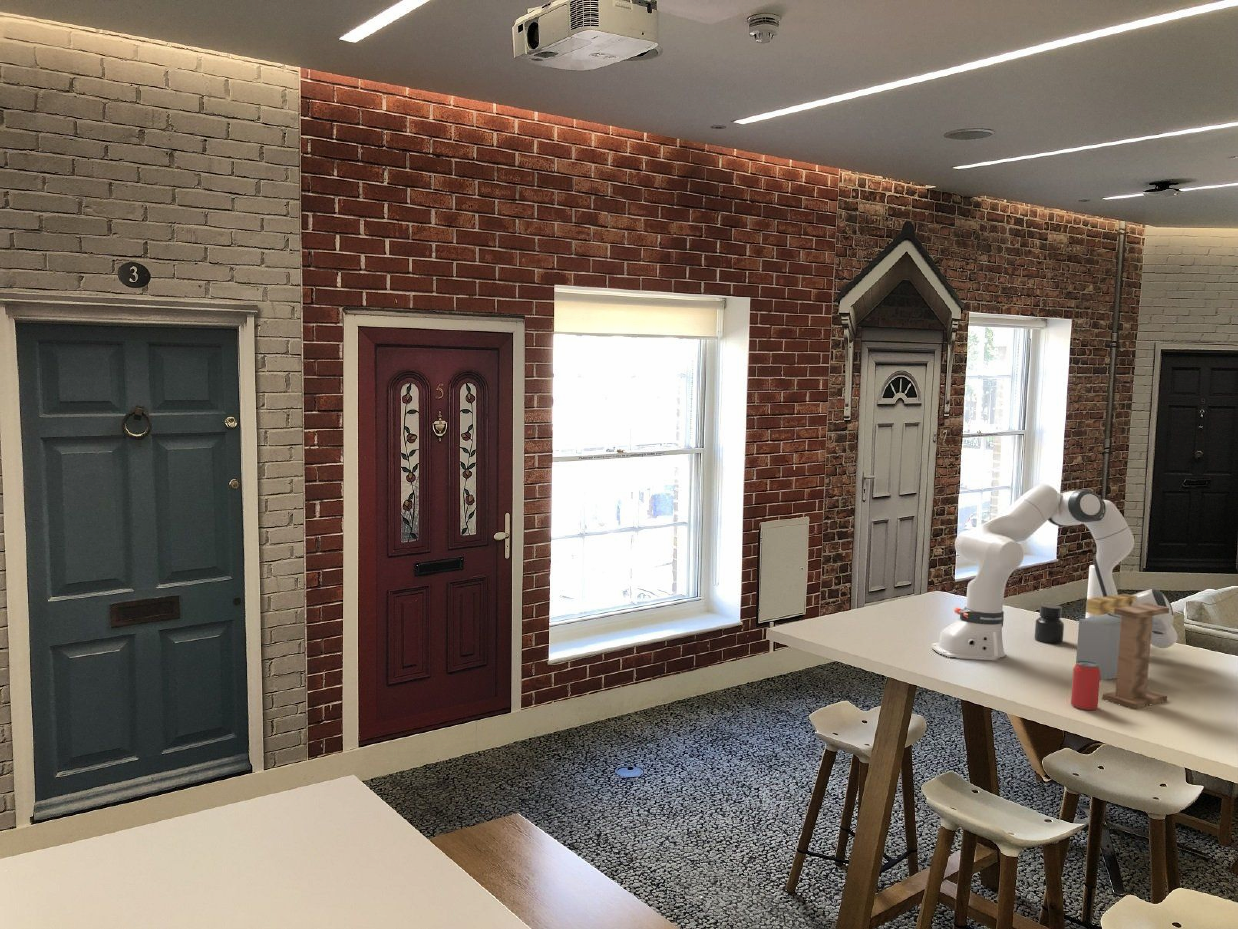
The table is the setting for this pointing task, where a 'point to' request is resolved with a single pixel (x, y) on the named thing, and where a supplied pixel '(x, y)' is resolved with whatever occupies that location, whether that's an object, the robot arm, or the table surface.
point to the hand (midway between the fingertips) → (1123, 601)
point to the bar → (1108, 603)
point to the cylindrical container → (1093, 589)
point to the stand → (1135, 657)
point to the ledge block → (1100, 643)
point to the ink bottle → (1049, 624)
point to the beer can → (1085, 685)
